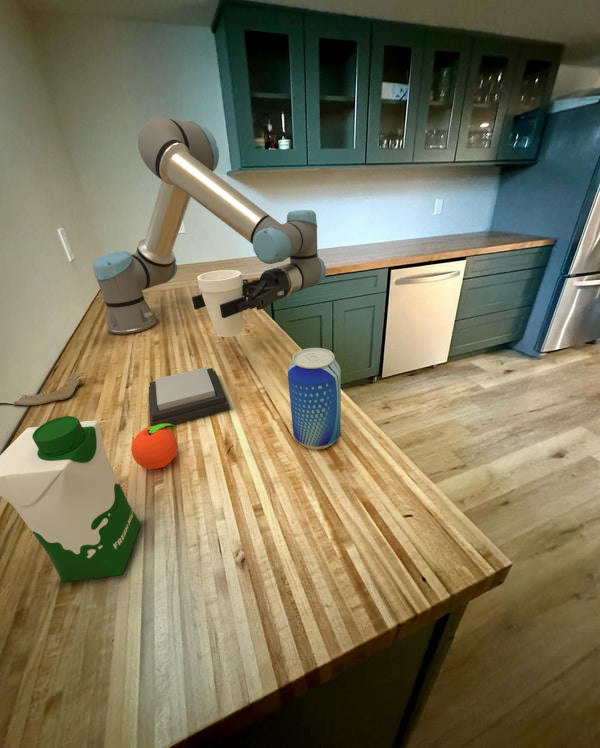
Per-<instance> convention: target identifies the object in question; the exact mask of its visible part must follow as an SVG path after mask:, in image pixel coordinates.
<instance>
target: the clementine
mask: <svg viewBox="0 0 600 748" xmlns="http://www.w3.org/2000/svg"><path fill="white" fill-rule="evenodd" d="M168 425H172V424H167V423H165V424H158V425H155V426H151V425H150V426H147V427H145V428H143V429H142V430H140V431H139V432H138V433H137V434H136V435H135V437H134V438H133V440H132V443H131V449H130V450H131V455H132V458H133V460H134V461H135V462H136V464H137V465H139V466H140V467H142V468H144V469H147V470H157V469H161V468H164V467H165V466H167V465H168V464H170V463H171V462H172V461H173V459H174V458H175V456H176V454H177V453H178V441H177V437H176V436H175V434H174V432H172V431H171V430H170V429H169V428H168V427H165V426H168ZM164 427H165V428H164ZM172 427H175V428H176V429H178V427H177V426H176V425H173V426H172Z"/></svg>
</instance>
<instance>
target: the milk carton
mask: <svg viewBox="0 0 600 748" xmlns="http://www.w3.org/2000/svg"><path fill="white" fill-rule="evenodd" d="M0 497H1V498H2V499H3V500H5V501H6V502H7V503H9V504H10V505H11V506H12V507H13V508H14V509H15V511H16V512H17V514H18V515H19V516H20V517H21V519H22V520H23V521H24V523H25V524H26V526H27V527H28V529H29V530H30V531H31V533H32V534H33V535H34V537H35V538H36V539H37V541H38V542H39V543H40V545H41V546H42V548H43V549H44V550H45V552H46V553H47V555H48V556H49V558H50V561H51V563H52V565H53V567H54V569H55V570H56V573H57V574H58V576H59V578H60V580H61V582H62V583H67V582H74V581H75V582H76V581H83V580H93V579H100V578H107V577H108V578H109V577H110V578H111V577H117V576H123V575H124V572H125V570H126V567H127V564H128V561H129V558H130V557H131V556H130V555H131V553H132V550H133V547H134V545H135V542H136V539H137V537H138V535H139V534H138V533H139V531H140V529H141V526H142V524H141V521H140V520H139V518H138V517H137V514H136V513H135V512H134V510H133V508H132V507H131V505H130V503H129V501H128V499H127V497H126V494H125V493H124V490H123V488H122V486H121V484H120V481H119V480H118V478H117V475H116V474H115V471H114V469H113V467H112V465H111V462H110V460H109V458H108V455H107V451H106V447H105V444H104V439H103V435H102V430H101V425H100V421H99V420H87V421H86V420H85V421H80V420H79V418H77V417H76V416H72V415H65V416H60V417H56V418H53V419H51V420H48V421H46V422H44V423H42V424H41V425H39V426H30V427H27V428H25V429H24V430H23V431H22V433H20V434H19V436H17V438H15V440H14V441H13V442H12V443H11V444H10V445H9V446H8V447H7V448H6V449H5V450H4V451H3V452H2V453H1V454H0Z"/></svg>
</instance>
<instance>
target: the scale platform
mask: <svg viewBox="0 0 600 748" xmlns="http://www.w3.org/2000/svg"><path fill="white" fill-rule="evenodd" d="M207 369H208V368H207V367H201V368H197V369H192V370H188V371H183V372H179V373H175V374H171V375H167V376H162V377H158V378H157V377H156V378H155V380H154V381H156V395H157V406H158V409H159V411H161V410H164V409H168V408H172V407H176V406H180V405H184V404H187V403H191V402H195V401H199V400H203V399H207V398H210V397H214V396H216V395H215V391H214V388H213V385H212V382H211V380H210V377H209V374H208V371H207Z"/></svg>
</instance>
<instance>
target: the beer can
mask: <svg viewBox="0 0 600 748" xmlns="http://www.w3.org/2000/svg"><path fill="white" fill-rule="evenodd" d="M335 357H336V356H335V354H334V353H333V351H331V350H329V349H326V348H322V347H309V348H304V349H303V348H302V349H300V350H299V351H297V352H295V353H294V354H293V355H292V359H291V363H290V364H289V366H288V368H287V381H288V393H289V402H290V414H291V415H290V416H291V423H292V424H291V425H292V434H293V437H294V439H295V440H296V442H299V444H300V445H301V446H303V447H304V448H307V449H309V450H316V451H317V450H324V449H327V448H329V447H331V446H333V444H335V442H337V440H338V439H339V437H340V436H341V432H342V431H341V428H342V425H341V424H342V422H341V421H342V420H341V419H342V418H341V417H342V414H341V413H342V412H341V411H342V410H341V409H342V407H341V406H342V405H341V403H342V402H341V401H342V395H341V394H342V393H341V392H342V391H341V390H342V389H341V388H342V386H341V385H342V381H341V379H342V375H341V371H342V370H341V365H340V364H339V363H338V362H337V360H336V358H335Z"/></svg>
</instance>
